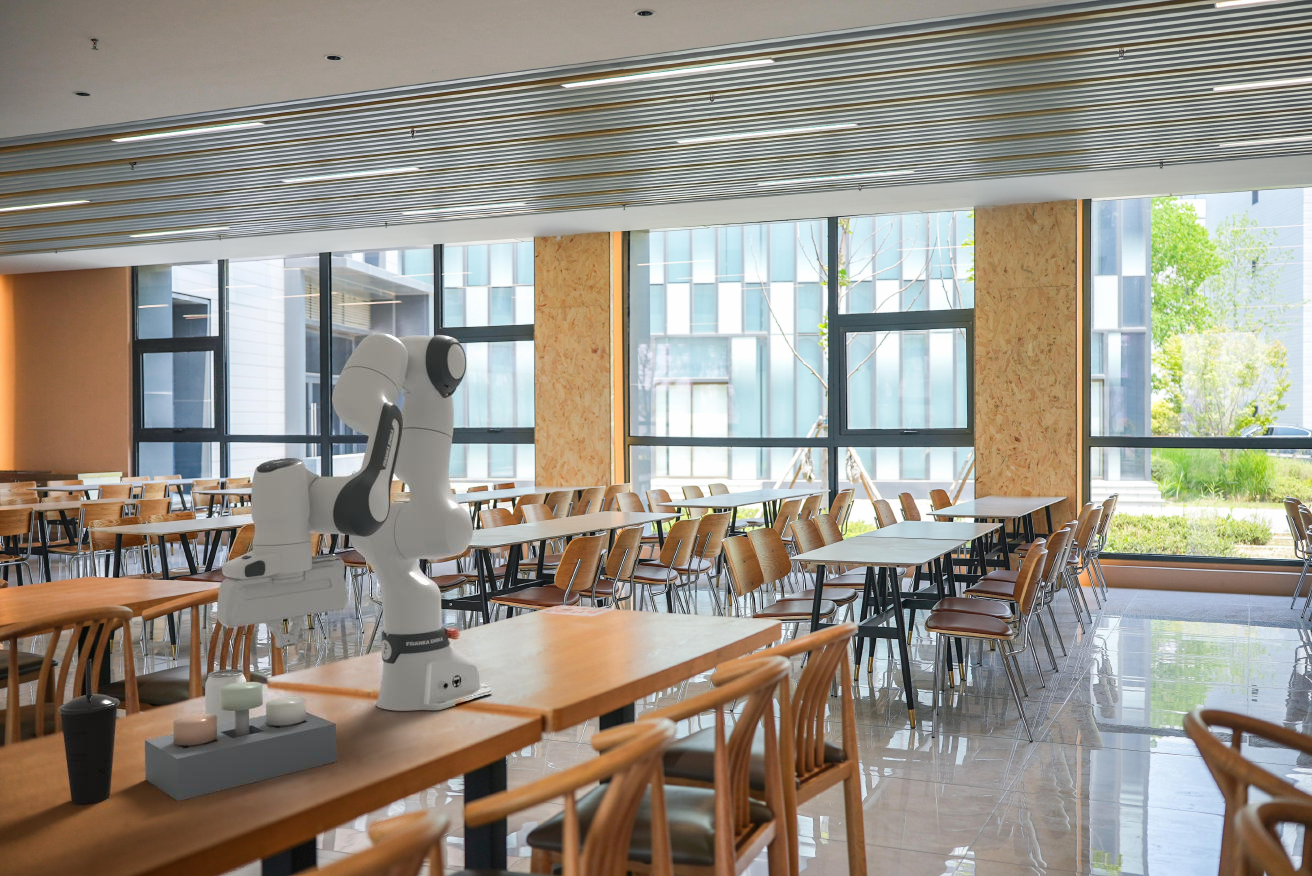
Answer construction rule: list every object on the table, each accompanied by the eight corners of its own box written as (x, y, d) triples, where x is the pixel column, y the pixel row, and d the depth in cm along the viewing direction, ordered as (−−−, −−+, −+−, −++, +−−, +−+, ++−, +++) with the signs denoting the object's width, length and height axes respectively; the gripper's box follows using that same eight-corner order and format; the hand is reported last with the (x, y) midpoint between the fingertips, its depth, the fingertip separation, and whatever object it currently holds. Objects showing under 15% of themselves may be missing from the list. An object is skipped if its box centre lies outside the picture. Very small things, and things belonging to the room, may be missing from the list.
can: (232, 749, 167) (230, 677, 167) (197, 748, 168) (196, 676, 168) (255, 738, 173) (254, 668, 173) (221, 737, 174) (220, 668, 175)
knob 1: (209, 766, 155) (208, 711, 155) (224, 775, 151) (223, 718, 151) (168, 776, 151) (167, 719, 151) (182, 785, 147) (181, 727, 147)
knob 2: (296, 746, 165) (295, 694, 165) (313, 754, 160) (312, 700, 161) (260, 755, 161) (259, 701, 161) (276, 762, 156) (275, 708, 156)
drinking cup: (56, 811, 139) (53, 667, 139) (64, 794, 146) (61, 657, 146) (118, 802, 142) (115, 661, 142) (123, 786, 149) (120, 652, 149)
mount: (298, 744, 169) (297, 708, 169) (336, 761, 159) (336, 723, 159) (145, 779, 152) (144, 739, 152) (177, 800, 142) (177, 758, 142)
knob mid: (254, 733, 160) (253, 680, 160) (269, 740, 156) (268, 685, 156) (215, 741, 156) (214, 686, 156) (230, 749, 151) (229, 692, 152)
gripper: (334, 551, 170) (338, 632, 171) (211, 566, 156) (215, 654, 156) (352, 553, 166) (355, 637, 166) (227, 569, 152) (230, 660, 152)
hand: (286, 645), depth 161 cm, fingers closed
